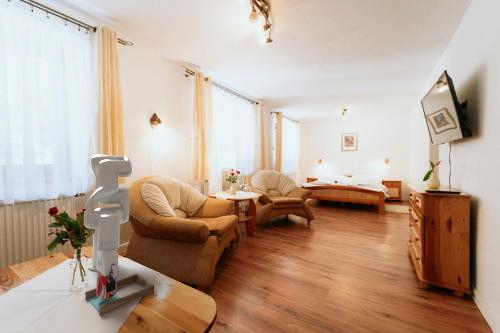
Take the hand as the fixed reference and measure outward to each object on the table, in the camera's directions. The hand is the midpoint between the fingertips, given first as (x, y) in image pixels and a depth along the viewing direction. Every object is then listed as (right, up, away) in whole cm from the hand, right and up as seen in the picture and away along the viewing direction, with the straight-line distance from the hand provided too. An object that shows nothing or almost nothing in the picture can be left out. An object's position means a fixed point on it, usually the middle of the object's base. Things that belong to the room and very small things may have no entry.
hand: (106, 287), depth 93 cm
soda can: (0, -4, 0) cm, 4 cm away
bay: (+3, -6, +4) cm, 8 cm away
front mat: (0, -6, 0) cm, 6 cm away
